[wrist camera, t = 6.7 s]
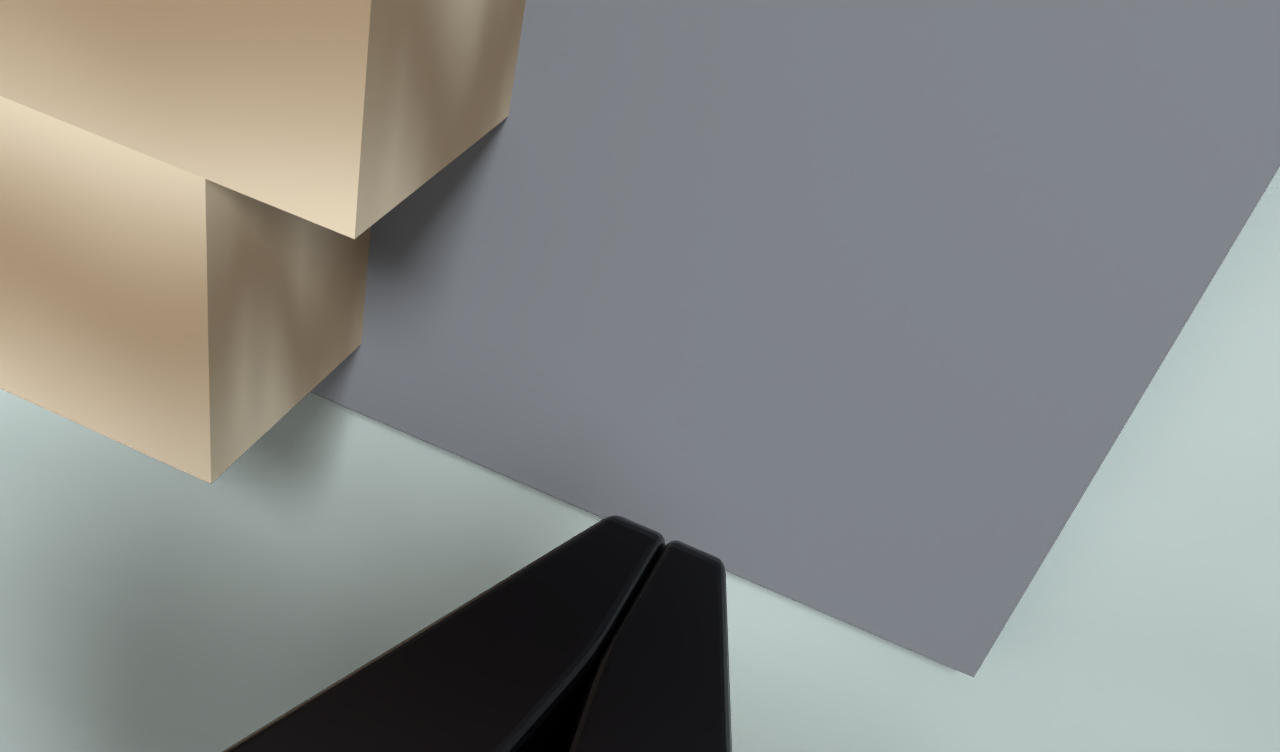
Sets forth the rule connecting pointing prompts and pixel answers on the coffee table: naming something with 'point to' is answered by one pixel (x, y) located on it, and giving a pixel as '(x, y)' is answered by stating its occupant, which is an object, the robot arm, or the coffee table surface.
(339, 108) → the t block
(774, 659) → the coffee table surface
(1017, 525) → the slate mat
